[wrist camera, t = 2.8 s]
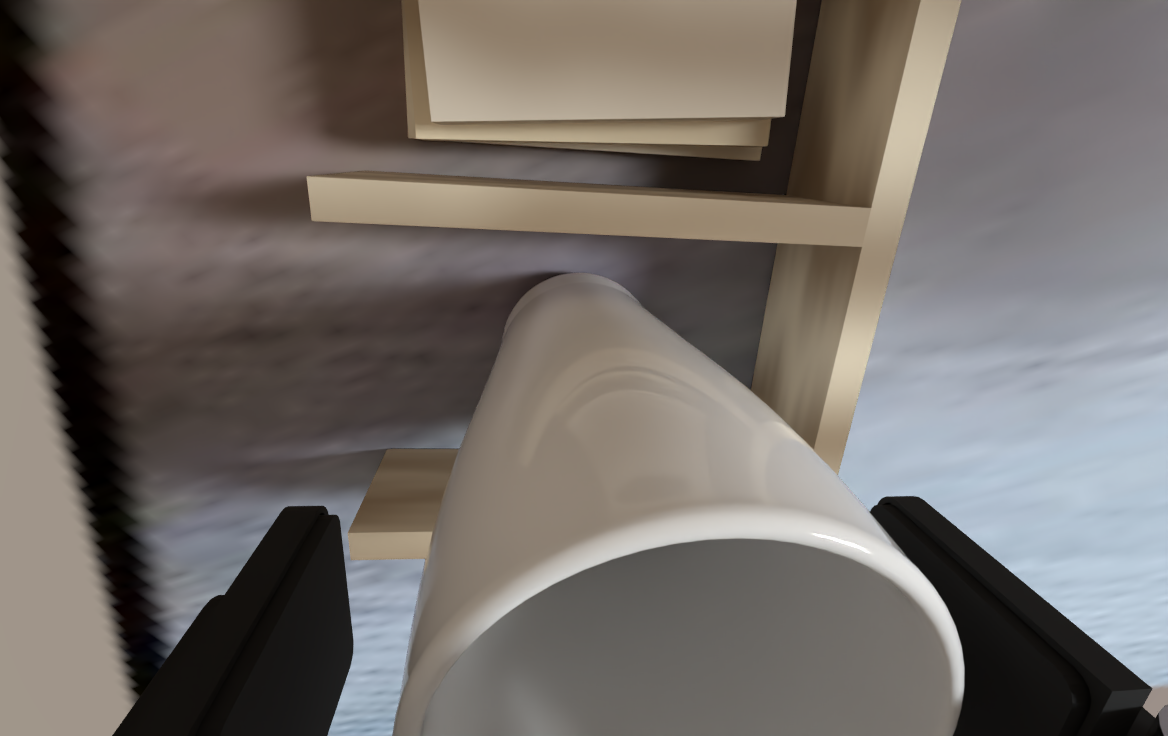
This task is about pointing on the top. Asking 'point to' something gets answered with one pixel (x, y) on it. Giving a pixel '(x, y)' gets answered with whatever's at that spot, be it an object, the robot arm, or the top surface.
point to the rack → (718, 236)
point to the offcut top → (606, 60)
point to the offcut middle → (576, 133)
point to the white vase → (658, 556)
